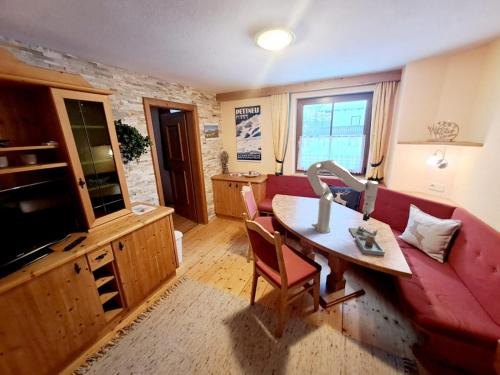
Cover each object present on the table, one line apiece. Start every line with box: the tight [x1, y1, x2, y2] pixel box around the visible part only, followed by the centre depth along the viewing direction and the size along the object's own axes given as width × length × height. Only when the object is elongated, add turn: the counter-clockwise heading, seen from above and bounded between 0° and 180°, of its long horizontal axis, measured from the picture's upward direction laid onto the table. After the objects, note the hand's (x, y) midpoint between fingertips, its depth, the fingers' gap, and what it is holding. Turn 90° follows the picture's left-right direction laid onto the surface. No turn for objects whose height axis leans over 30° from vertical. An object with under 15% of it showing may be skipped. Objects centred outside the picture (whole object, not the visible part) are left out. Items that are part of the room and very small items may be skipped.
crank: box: [357, 226, 378, 237], centre depth 155 cm, size 14×5×5 cm, turn 28°
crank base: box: [348, 227, 370, 238], centre depth 161 cm, size 14×14×3 cm
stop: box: [365, 235, 376, 248], centre depth 141 cm, size 5×5×8 cm
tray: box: [355, 236, 386, 256], centre depth 142 cm, size 13×19×3 cm
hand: (366, 219), depth 148 cm, fingers open, 3 cm apart
